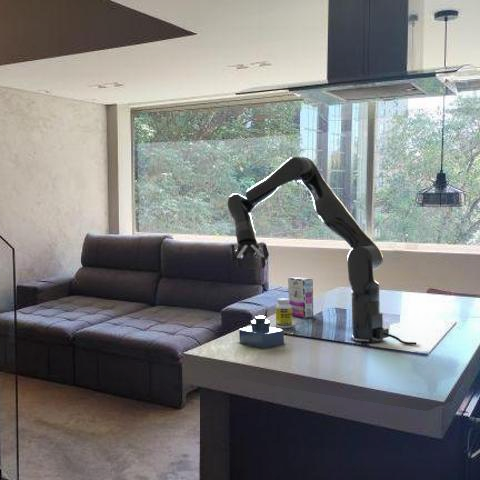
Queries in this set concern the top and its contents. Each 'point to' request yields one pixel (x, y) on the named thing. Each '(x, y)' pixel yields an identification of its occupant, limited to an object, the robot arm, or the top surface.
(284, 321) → the pill bottle
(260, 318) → the button
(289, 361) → the top surface
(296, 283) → the candy bar box
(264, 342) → the blue square base
